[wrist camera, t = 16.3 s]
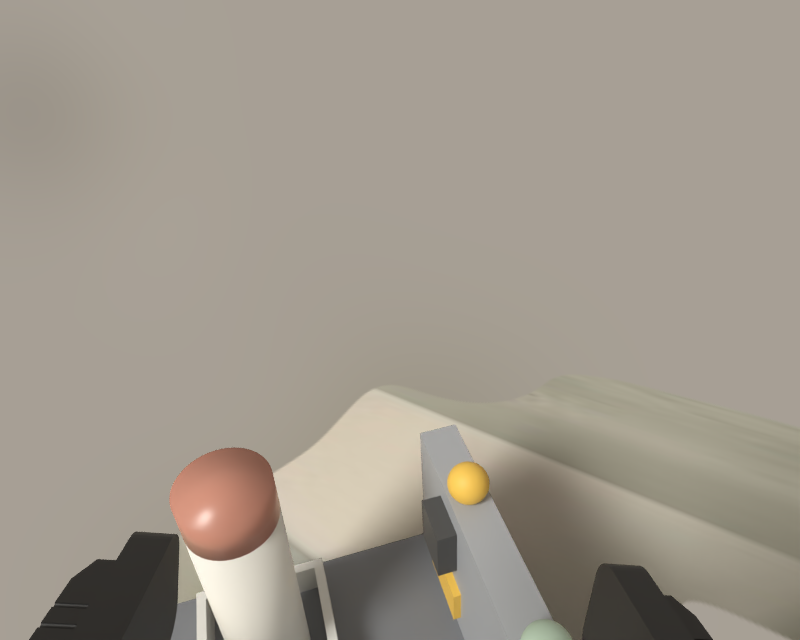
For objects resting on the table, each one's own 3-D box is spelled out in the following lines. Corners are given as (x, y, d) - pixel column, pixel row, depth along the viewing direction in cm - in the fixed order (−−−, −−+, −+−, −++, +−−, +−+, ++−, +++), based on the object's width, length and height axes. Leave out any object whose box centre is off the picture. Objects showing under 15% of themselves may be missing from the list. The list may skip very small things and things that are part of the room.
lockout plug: (270, 605, 34) (220, 434, 26) (327, 640, 32) (293, 470, 24) (220, 669, 31) (147, 502, 23) (280, 711, 30) (223, 547, 21)
